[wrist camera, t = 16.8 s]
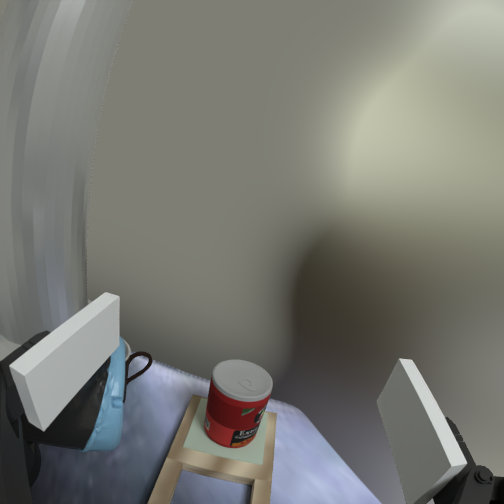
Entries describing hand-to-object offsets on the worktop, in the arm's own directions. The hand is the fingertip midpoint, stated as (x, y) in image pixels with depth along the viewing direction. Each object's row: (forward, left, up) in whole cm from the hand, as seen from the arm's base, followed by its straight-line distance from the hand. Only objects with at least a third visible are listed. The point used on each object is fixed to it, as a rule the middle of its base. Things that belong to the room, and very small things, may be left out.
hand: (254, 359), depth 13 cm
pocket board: (0, +13, -30) cm, 33 cm away
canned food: (0, +20, -28) cm, 34 cm away
